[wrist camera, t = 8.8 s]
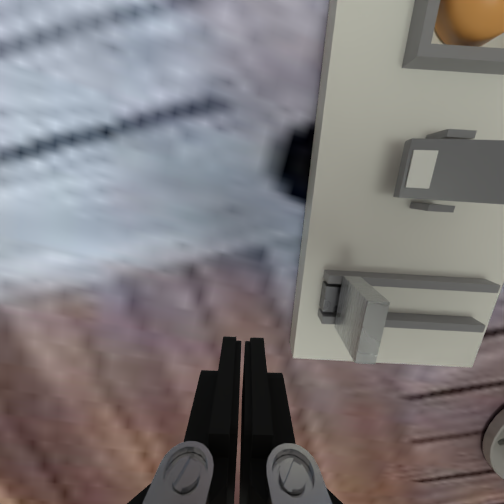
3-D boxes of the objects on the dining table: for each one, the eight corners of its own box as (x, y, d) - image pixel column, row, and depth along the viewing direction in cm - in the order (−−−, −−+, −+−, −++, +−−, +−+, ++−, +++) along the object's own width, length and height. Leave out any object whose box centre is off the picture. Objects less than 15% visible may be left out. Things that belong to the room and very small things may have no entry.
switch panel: (602, -91, 14) (727, -190, 10) (452, 351, 22) (492, 384, 18) (342, -110, 14) (375, -218, 10) (289, 342, 22) (296, 374, 18)
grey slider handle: (365, 270, 18) (406, 303, 13) (355, 318, 19) (390, 365, 14) (324, 268, 18) (351, 300, 13) (317, 316, 19) (339, 362, 14)
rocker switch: (504, 146, 14) (535, 140, 12) (486, 202, 15) (513, 204, 13) (399, 144, 15) (412, 137, 13) (388, 196, 16) (399, 197, 14)
